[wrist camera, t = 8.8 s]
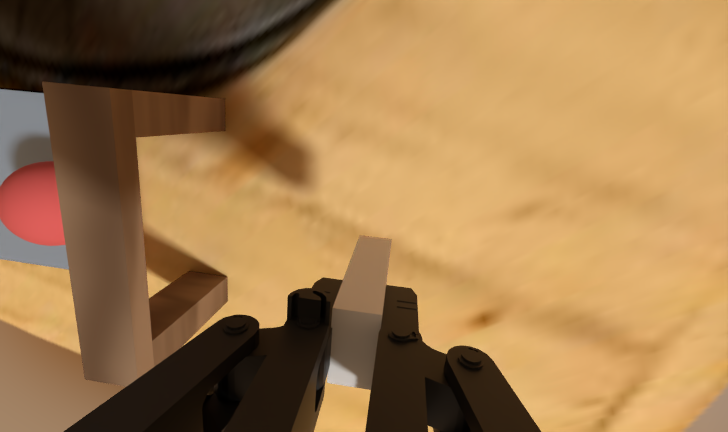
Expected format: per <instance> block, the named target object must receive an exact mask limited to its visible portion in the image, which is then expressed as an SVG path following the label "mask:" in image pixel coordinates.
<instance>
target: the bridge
mask: <svg viewBox="0 0 728 432" xmlns="http://www.w3.org/2000/svg"><path fill="white" fill-rule="evenodd" d="M42 85H43V92H44V99H45V106H46V113H47V120H48V127H49V134H50V141H51V148H52V155H53V162H54V169H55V175H56V182H57V189H58V196H59V203H60V210H61V217H62V224H63V231H64V238H65V245H66V252H67V259H68V266H69V273H70V280H71V287H72V293H73V300H74V307H75V314H76V321H77V328H78V335H79V342H80V349H81V356H82V363H83V370H84V377H85V379H86V380H92V381H97V382H103V383H108V384H113V385H119V386H124V387H127V386H128V385H129V384H131V383H132V382H134V381H135V380H136V379H138V378H139V377H141V376H142V375H143V374H145V373H146V372H148V371H149V370H150V369H152V368H153V367H155V366H156V365H157V364H159V363H160V362H162V361H163V360H164V359H166V358H167V357H169V356H170V355H171V354H173V353H174V352H176V351H177V350H178V349H180V348H181V347H182V346H183V345H184V344H185V343H186V342H187V341H188V340H189V339H190V338H191V337H192V336H193V335H194V334H195V333H196V332H197V331H198V330H199V329H200V328H201V327H202V326H203V325H204V324H205V323H206V322H207V321H208V320H209V319H210V318H211V317H212V316H213V315H214V314H215V313H216V312H217V311H218V310H219V309H220V308H221V307H222V306H223V305H224V304H225V303H226V302H227V301H228V293H227V277H225V276H218V275H211V274H205V273H198V272H191V271H189V272H187V273H186V274H184V275H183V276H181V277H180V278H178V279H177V280H175V281H174V282H173V283H171V284H170V285H168V286H167V287H165V288H164V289H162V290H161V291H159V292H158V293H156V294H155V295H154V296H152V297H151V298H149V296H148V284H147V271H146V259H145V247H144V234H143V222H142V209H141V197H140V185H139V172H138V160H137V147H136V137H148V136H161V135H175V134H188V133H202V132H215V131H225V99H221V98H211V97H200V96H189V95H179V94H168V93H158V92H147V91H137V90H126V89H116V88H105V87H94V86H84V85H73V84H62V83H52V82H42Z"/></svg>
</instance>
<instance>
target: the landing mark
mask: <svg viewBox="0 0 728 432" xmlns="http://www.w3.org/2000/svg"><path fill="white" fill-rule="evenodd" d="M45 161H53V155H52V148H51V141H50V134H49V127H48V120H47V113H46V106H45V99H44V93H36V92H26V91H15V90H5V89H0V186H1V185H2V183H3V182H4V180H5V179H6V178H7V177H8V176H9V175H10V174H12V173H13V172H14V171H16V170H18V169H19V168H22V167H24V166H26V165H29V164H33V163H37V162H45ZM0 259H4V260H10V261H17V262H23V263H30V264H36V265H43V266H49V267H56V268H63V269H69V266H68V259H67V252H66V245H59V246H46V245H39V244H35V243H31V242H28V241H26V240H23V239H22V238H20V237H18V236H16V235H15V234H13V233H12V232H11V231H10V230H8V229H7V228H6V226H5V225H4V224H3V223H2V221H1V219H0Z"/></svg>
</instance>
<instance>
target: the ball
mask: <svg viewBox="0 0 728 432" xmlns="http://www.w3.org/2000/svg"><path fill="white" fill-rule="evenodd" d="M0 219H1V221H2V223H3V224H4V225H5V226H6V228H7V229H8V230H10V231H11V232H12V233H13V234H15V235H16V236H18V237H20V238H22V239H23V240H26V241H28V242H31V243H35V244H39V245H46V246H59V245H65V238H64V231H63V224H62V217H61V210H60V203H59V196H58V189H57V182H56V175H55V169H54V162H53V161H45V162H37V163H33V164H29V165H26V166H24V167H22V168H19V169H18V170H16V171H14V172H13V173H12V174H10V175H9V176H8V177H7V178H6V179H5V180H4V182H3V183H2V185H1V186H0Z"/></svg>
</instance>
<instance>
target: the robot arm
mask: <svg viewBox="0 0 728 432" xmlns="http://www.w3.org/2000/svg"><path fill="white" fill-rule="evenodd" d="M391 240H392V239H385V238H377V237H369V236H361V235H360V236H359V239H358V242H357V244H356V247H355V250H354V252H353V255H352V258H351V260H350V263H349V266H348V268H347V271H346V273H345V276H344V279H343V280H337V279H330V278H321V279H320V280H318V281H317V282H315V283H314V285H313V287H312V288H305V289H298V290H296V291H293V292H292V293H290V294H289V295H288V307H287V321H286V322H285V324H284V326H281V327H276V328H263V329H259V322H258V321H257V320H256V319H255V318H253V317H251V316H247V315H233V316H229V317H225V318H223V319H221V320H219V321H218V322H216V323H215V324H213V325H212V326H211V327H209V328H208V329H206V330H205V331H204V332H202V333H201V334H199V335H198V336H197V337H195V338H194V339H192V340H191V341H190V342H188V343H187V344H185V345H184V346H183V347H181V348H180V349H178V350H177V351H176V352H174V353H173V354H171V355H170V356H169V357H167V358H166V359H164V360H163V361H162V362H160V363H159V364H157V365H156V366H155V367H153V368H152V369H150V370H149V371H148V372H146V373H145V374H143V375H142V376H141V377H139V378H138V379H136V380H135V381H134V382H132V383H131V384H129V385H128V386H127V387H125V388H124V389H123V390H121V391H120V392H118V393H117V394H116V395H114V396H113V397H111V398H110V399H109V400H107V401H106V402H105V403H103V404H102V405H100V406H99V407H97V408H96V409H95V410H93V411H92V412H91V413H89V414H88V415H86V416H85V417H83V418H82V419H81V420H79V421H78V422H77V423H75V424H74V425H72V426H71V427H69V428H68V429H67V430H65V431H64V432H314V429H315V425H316V422H317V418H318V415H319V411H320V408H321V404H322V401H323V397H324V389H325V380H326V377H327V374H328V378H327V383H331V384H338V385H344V386H350V387H357V388H363V389H369V390H371V394H370V401H369V409H368V416H367V424H366V431H365V432H428V426H431V427H433V431H434V432H541V431H540V429H539V428H538V426H537V425H536V423H535V422H534V420H533V419H532V417H531V416H530V414H529V413H528V412H527V410H526V409H525V407H524V406H523V404H522V403H521V401H520V400H519V398H518V397H517V395H516V394H515V392H514V391H513V389H512V388H511V386H510V385H509V384H508V382H507V381H506V379H505V378H504V376H503V375H502V373H501V372H500V370H499V369H498V367H497V366H496V364H495V363H494V361H493V360H492V359H491V358H490V357H489V356H488V355H487V354H486V353H484V352H482V351H481V350H479V349H476V348H473V347H470V346H455V347H453V348H451V349H449V351H448V353H447V354H444V353H442V352H439V351H436V350H434V349H432V348H430V347H429V346H427V345H426V344H425V343H424V342H423V341H422V337H421V334H420V333H419V326H418V311H417V310H418V307H417V295H416V294H415V293H414V291H413V290H412V289H411V288H404V287H397V286H389V285H386V282H387V274H388V265H389V257H390V248H391Z"/></svg>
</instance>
